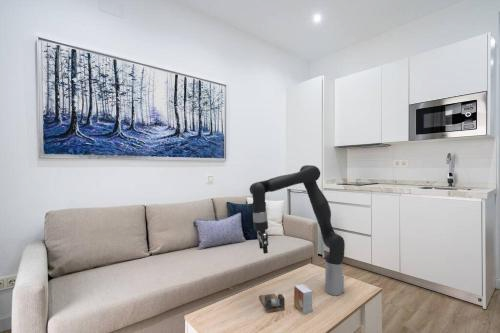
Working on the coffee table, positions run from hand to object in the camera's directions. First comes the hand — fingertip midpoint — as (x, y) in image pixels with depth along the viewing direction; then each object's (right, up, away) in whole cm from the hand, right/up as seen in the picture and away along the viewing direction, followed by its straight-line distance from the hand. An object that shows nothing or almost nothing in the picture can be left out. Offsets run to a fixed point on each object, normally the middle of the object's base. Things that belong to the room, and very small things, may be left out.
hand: (263, 250), depth 129 cm
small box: (+19, -27, -7) cm, 34 cm away
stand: (+4, -27, -3) cm, 27 cm away
